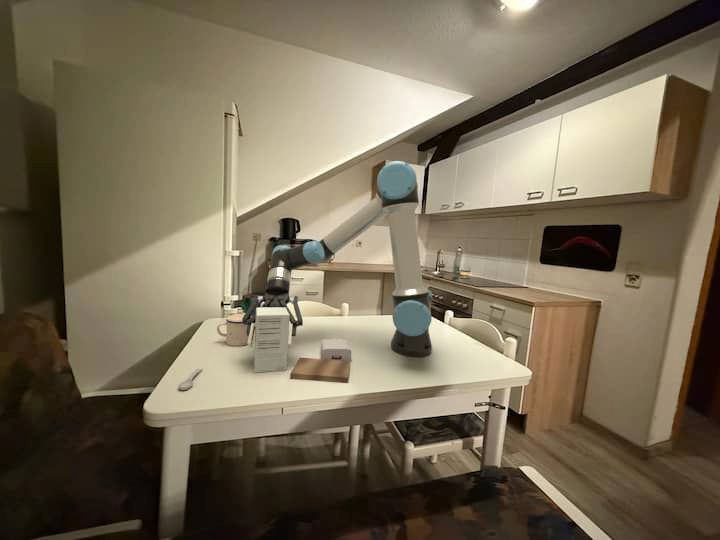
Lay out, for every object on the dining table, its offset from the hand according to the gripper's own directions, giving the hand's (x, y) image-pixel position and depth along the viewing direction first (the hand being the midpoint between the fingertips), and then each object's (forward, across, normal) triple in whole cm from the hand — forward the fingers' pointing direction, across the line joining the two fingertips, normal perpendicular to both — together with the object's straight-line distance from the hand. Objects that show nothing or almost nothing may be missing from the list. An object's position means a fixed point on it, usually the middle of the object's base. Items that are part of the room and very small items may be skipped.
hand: (269, 345), depth 84 cm
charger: (-3, -20, -14) cm, 25 cm away
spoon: (+10, +19, -1) cm, 21 cm away
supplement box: (+3, 0, -7) cm, 8 cm away
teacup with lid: (-10, +15, -21) cm, 28 cm away
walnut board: (+6, -15, -4) cm, 17 cm away
